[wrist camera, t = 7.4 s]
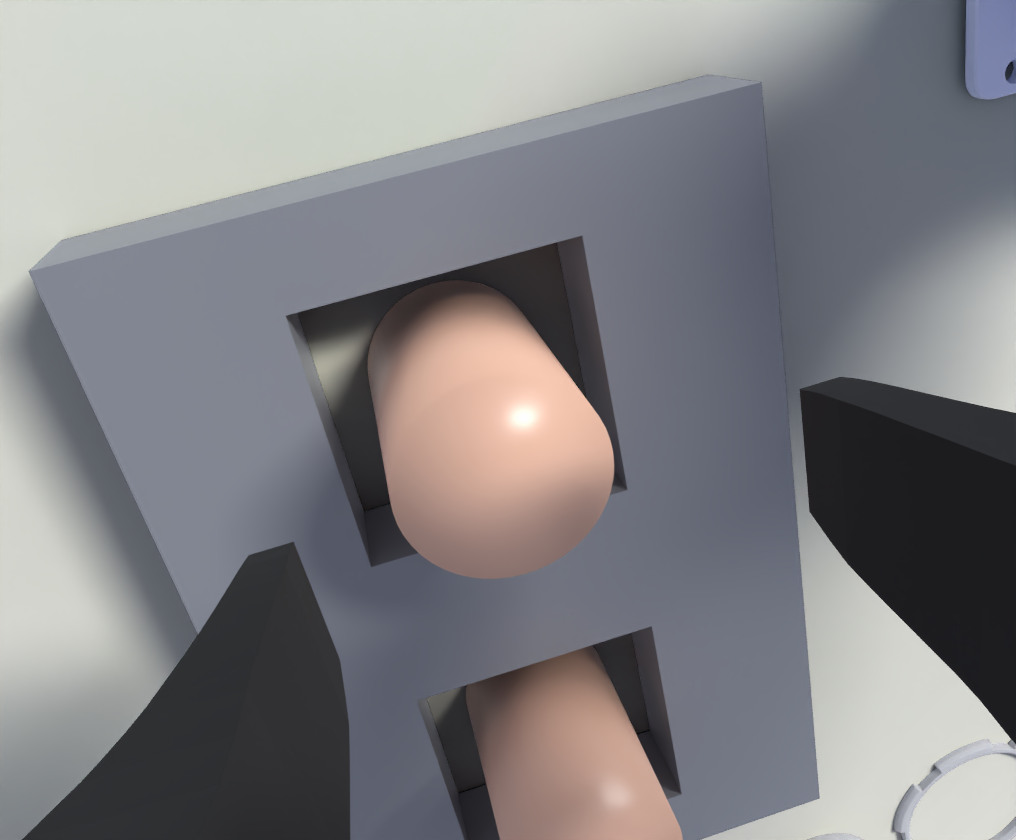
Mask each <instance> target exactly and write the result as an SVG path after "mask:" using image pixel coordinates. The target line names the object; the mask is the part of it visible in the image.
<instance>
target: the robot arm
mask: <svg viewBox="0 0 1016 840" xmlns="http://www.w3.org/2000/svg"><path fill="white" fill-rule="evenodd" d="M1011 61H1012V62H1013V66H1014V68H1013V72H1012V75H1011V76H1010V77H1009V79H1008V80H1006V78H1005V71H1006V67H1007V66H1008V65H1009V63H1010V62H1011ZM965 82H966V88H967V90H968V92H969V93H970V95H971V96H973V97H975V98H978V99H996V98H1000V97H1003V96H1007V95H1011V94H1014V93H1016V0H966V63H965ZM800 398H801V410H802V423H803V435H804V447H805V460H806V472H807V484H808V497H809V509H810V513H811V514H812V516H813V517H814V518H815V520H816V521H817V523H818V524H819V526H820V527H821V528H822V530H823V531H824V533H825V534H826V535H827V537H828V538H829V540H830V541H831V542H832V544H833V545H834V546H835V548H836V549H837V550H838V552H839V553H840V554H841V556H842V557H843V558H844V560H845V561H846V562H847V564H848V565H849V566H850V567H851V568H852V569H853V570H854V571H855V572H856V573H857V574H858V575H859V576H860V577H861V578H862V579H863V580H864V581H865V583H866V584H867V585H868V586H869V587H870V588H871V589H872V590H873V591H874V592H875V593H876V594H877V595H878V596H879V597H880V598H881V599H882V600H883V601H884V602H885V603H886V604H887V605H888V606H889V607H890V608H891V609H892V610H893V611H894V612H895V613H896V614H897V615H898V616H899V617H900V618H901V619H902V620H903V621H904V622H905V623H906V624H907V625H908V626H909V627H910V628H911V629H912V630H913V631H914V632H915V633H916V634H917V635H918V636H919V637H920V638H921V639H922V640H923V641H924V642H925V643H926V644H927V645H928V646H929V647H930V648H931V649H932V650H933V651H934V652H935V653H936V654H937V655H938V656H939V657H940V658H941V659H942V660H943V661H944V662H945V663H946V664H947V665H948V666H949V667H950V668H951V669H952V670H953V671H954V672H955V673H956V674H957V675H958V677H959V678H960V679H961V680H962V681H963V682H964V683H965V684H966V685H967V686H968V688H969V689H970V690H971V691H972V692H973V693H974V694H975V695H976V696H977V697H978V699H979V700H980V701H981V702H982V703H983V704H984V706H985V707H986V708H987V709H988V711H989V712H990V713H991V714H992V716H993V717H994V718H995V719H996V721H997V722H998V723H999V724H1000V726H1001V727H1002V728H1003V729H1004V731H1005V732H1006V733H1007V734H1008V736H1009V737H1010V738H1011V739H1012V741H1013V742H1014V743H1015V744H1016V413H1013V412H1008V411H1003V410H998V409H993V408H988V407H984V406H979V405H975V404H970V403H966V402H961V401H957V400H952V399H948V398H944V397H939V396H935V395H931V394H926V393H922V392H918V391H913V390H909V389H905V388H900V387H896V386H891V385H886V384H882V383H877V382H872V381H866V380H861V379H854V378H846V377H839V378H835V379H832V380H829V381H825V382H822V383H819V384H815V385H812V386H809V387H805V388H802V389H800ZM22 840H350V737H349V719H348V712H347V704H346V697H345V690H344V683H343V676H342V670H341V663H340V658H339V656H338V653H337V651H336V648H335V646H334V643H333V641H332V638H331V635H330V633H329V630H328V628H327V625H326V623H325V620H324V618H323V615H322V613H321V610H320V607H319V605H318V602H317V600H316V597H315V595H314V592H313V590H312V587H311V584H310V582H309V579H308V577H307V574H306V572H305V569H304V567H303V564H302V562H301V559H300V556H299V554H298V551H297V549H296V546H295V544H294V542H291V543H287V544H284V545H281V546H277V547H274V548H271V549H267V550H264V551H261V552H258V553H254V554H251V555H248V557H247V558H246V560H245V561H244V563H243V564H242V566H241V567H240V569H239V570H238V572H237V574H236V575H235V577H234V578H233V580H232V582H231V583H230V585H229V587H228V588H227V590H226V591H225V593H224V595H223V596H222V598H221V600H220V601H219V603H218V604H217V606H216V608H215V609H214V611H213V612H212V614H211V615H210V617H209V618H208V620H207V622H206V623H205V625H204V626H203V628H202V629H201V631H200V632H199V634H198V635H197V637H196V639H195V640H194V642H193V643H192V645H191V646H190V648H189V649H188V651H187V652H186V654H185V655H184V656H183V658H182V659H181V660H180V662H179V663H178V664H177V666H176V667H175V669H174V670H173V671H172V673H171V674H170V675H169V677H168V678H167V680H166V681H165V682H164V684H163V685H162V686H161V688H160V689H159V691H158V692H157V693H156V695H155V696H154V697H153V699H152V700H151V701H150V703H149V704H148V706H147V707H146V708H145V709H144V711H143V712H142V713H141V714H140V716H139V717H138V718H137V719H136V721H135V722H134V723H133V724H132V725H131V727H130V728H129V729H128V730H127V731H126V733H125V734H124V735H123V736H122V737H121V739H120V740H119V741H118V742H117V743H116V744H115V745H114V746H113V748H112V749H111V750H110V751H109V752H108V753H107V754H106V755H105V757H104V758H103V759H102V760H101V761H100V762H99V763H98V764H97V766H96V767H95V768H94V769H93V770H92V771H91V772H90V773H89V774H88V775H87V776H86V777H85V778H84V780H83V781H82V782H81V783H80V784H79V785H78V786H77V787H76V788H75V789H74V790H72V791H71V792H70V793H69V794H68V795H67V796H66V797H65V798H64V799H63V800H62V801H61V802H60V803H59V804H58V805H57V806H56V807H55V808H54V809H53V810H52V811H51V812H50V813H49V814H48V815H47V816H46V817H45V818H44V819H43V820H42V821H41V822H40V823H39V824H38V825H37V826H36V827H35V828H34V829H33V830H31V831H30V832H29V833H28V834H27V835H26V836H25V837H24V838H23V839H22Z"/></svg>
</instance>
